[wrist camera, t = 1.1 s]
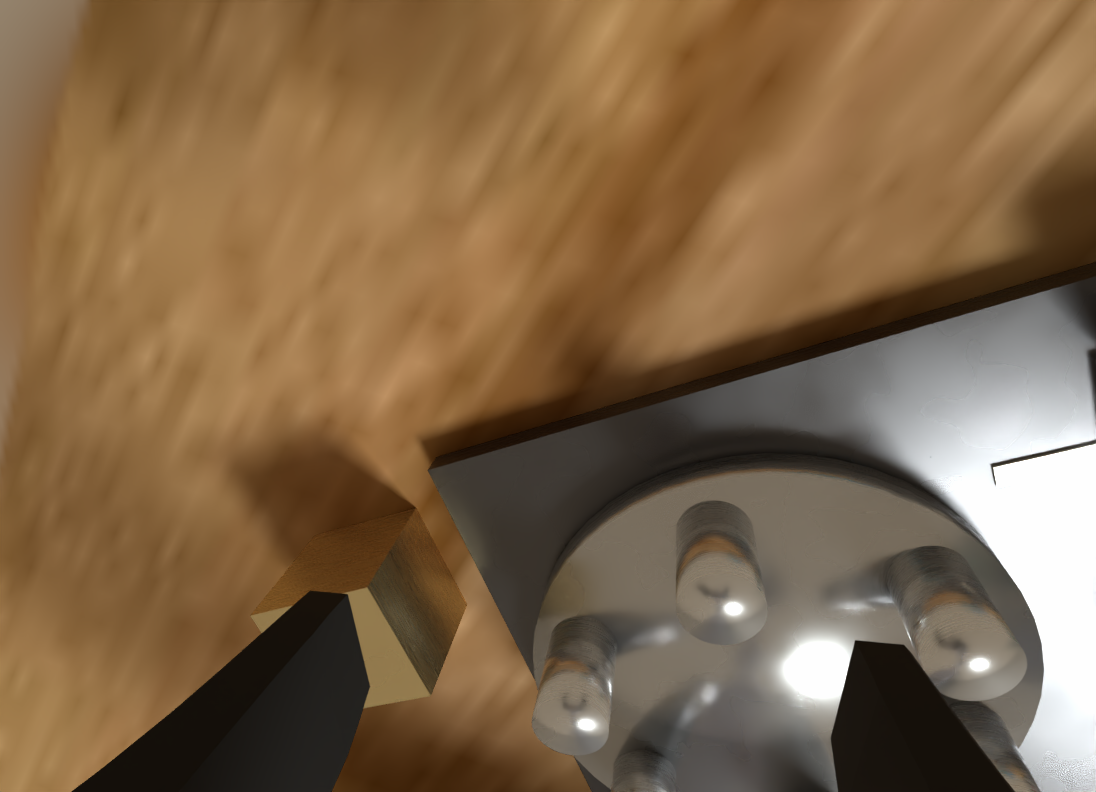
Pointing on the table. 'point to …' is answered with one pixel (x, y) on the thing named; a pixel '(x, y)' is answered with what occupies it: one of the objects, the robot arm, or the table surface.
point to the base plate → (864, 439)
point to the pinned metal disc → (769, 625)
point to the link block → (381, 599)
